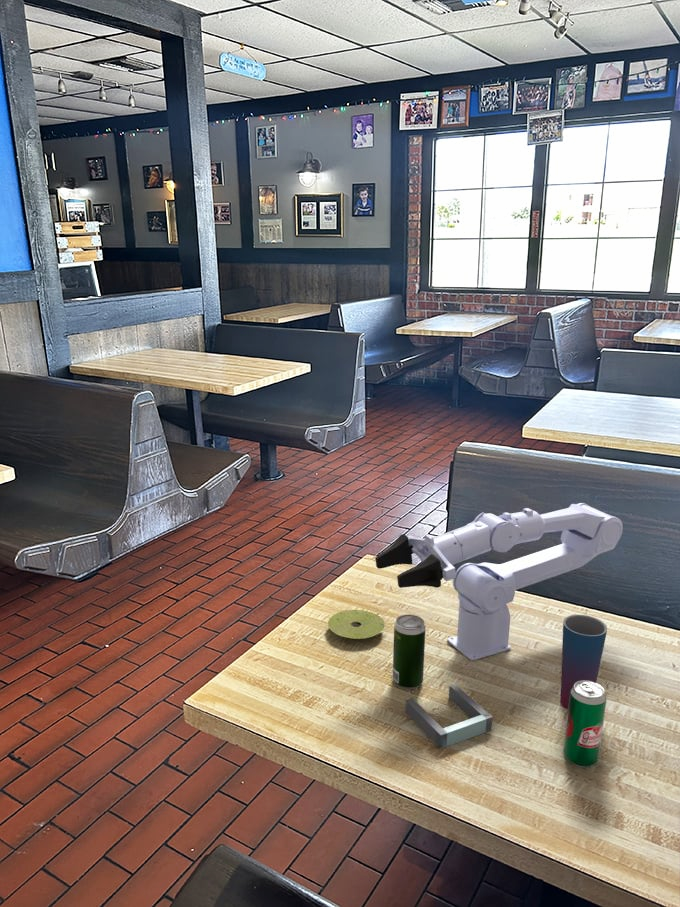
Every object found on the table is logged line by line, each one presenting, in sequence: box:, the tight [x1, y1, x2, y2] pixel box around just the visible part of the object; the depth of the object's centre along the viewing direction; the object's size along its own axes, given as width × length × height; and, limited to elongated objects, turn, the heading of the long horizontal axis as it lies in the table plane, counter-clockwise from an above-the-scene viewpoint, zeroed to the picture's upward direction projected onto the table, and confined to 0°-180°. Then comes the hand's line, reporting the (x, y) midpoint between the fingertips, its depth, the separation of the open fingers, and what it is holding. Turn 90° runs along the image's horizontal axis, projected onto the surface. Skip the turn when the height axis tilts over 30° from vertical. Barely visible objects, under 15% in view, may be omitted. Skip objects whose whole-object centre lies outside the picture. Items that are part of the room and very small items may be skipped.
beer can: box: [392, 614, 427, 691], centre depth 124 cm, size 5×5×12 cm
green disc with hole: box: [327, 609, 385, 640], centre depth 142 cm, size 11×11×2 cm
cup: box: [559, 614, 608, 711], centre depth 118 cm, size 7×7×15 cm
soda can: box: [562, 680, 607, 768], centre depth 106 cm, size 5×5×12 cm
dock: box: [404, 683, 493, 750], centre depth 115 cm, size 10×10×2 cm
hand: (387, 572), depth 123 cm, fingers open, 7 cm apart
